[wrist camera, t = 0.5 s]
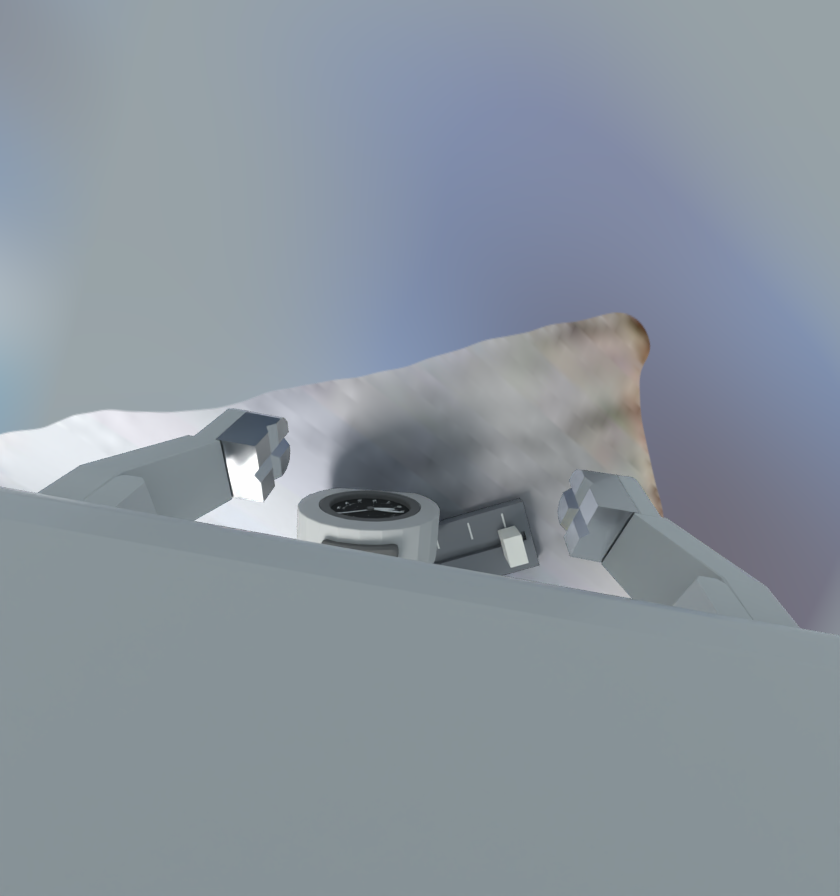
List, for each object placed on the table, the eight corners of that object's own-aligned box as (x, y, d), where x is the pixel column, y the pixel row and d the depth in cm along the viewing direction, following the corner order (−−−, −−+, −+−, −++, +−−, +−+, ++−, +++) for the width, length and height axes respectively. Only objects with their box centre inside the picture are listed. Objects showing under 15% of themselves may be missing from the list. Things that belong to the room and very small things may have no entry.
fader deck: (535, 560, 64) (539, 565, 62) (429, 589, 65) (429, 596, 63) (519, 498, 63) (523, 501, 61) (410, 529, 63) (410, 533, 61)
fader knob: (519, 549, 63) (528, 562, 58) (503, 553, 63) (510, 567, 58) (512, 523, 62) (521, 534, 57) (495, 527, 62) (503, 539, 57)
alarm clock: (437, 494, 63) (445, 537, 43) (433, 534, 64) (441, 594, 44) (316, 485, 63) (270, 526, 43) (315, 526, 64) (269, 583, 44)
